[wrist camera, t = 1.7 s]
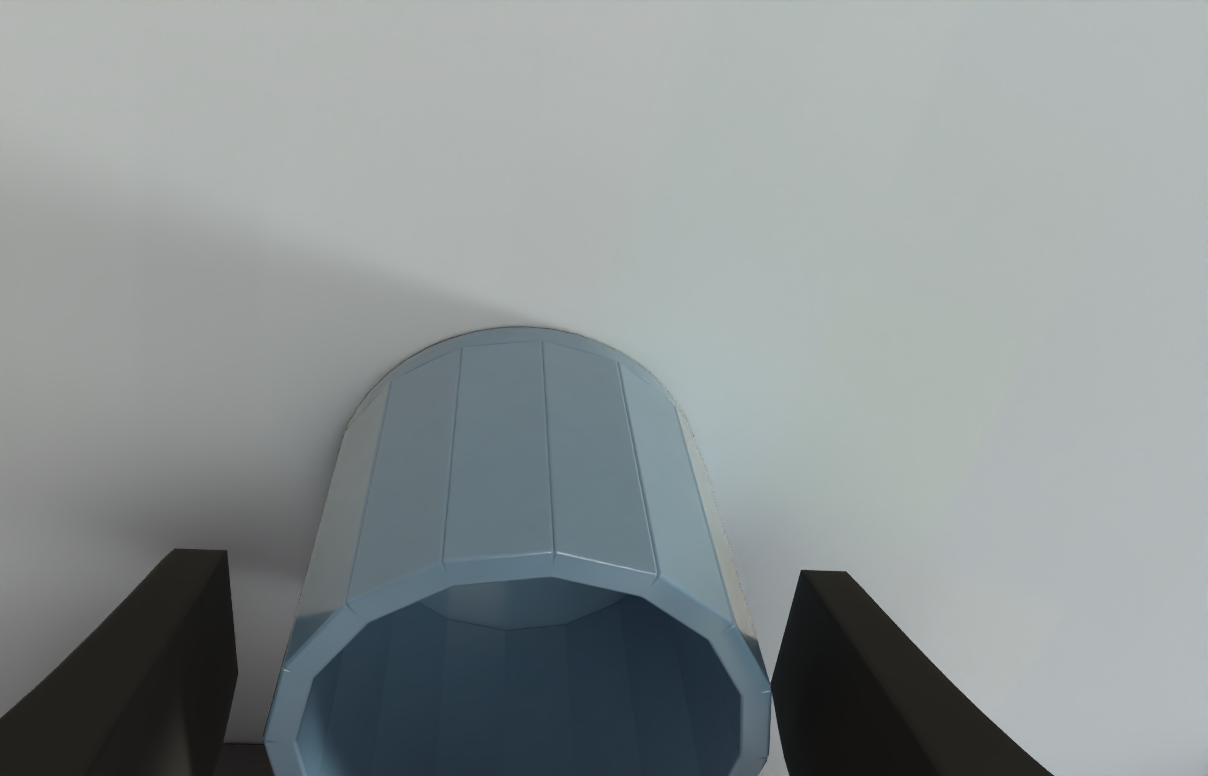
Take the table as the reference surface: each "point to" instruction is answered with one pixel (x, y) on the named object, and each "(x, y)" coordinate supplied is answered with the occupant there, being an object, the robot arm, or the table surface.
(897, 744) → the robot arm
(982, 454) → the table surface
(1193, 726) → the table surface
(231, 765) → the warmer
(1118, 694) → the table surface
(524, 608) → the tub
